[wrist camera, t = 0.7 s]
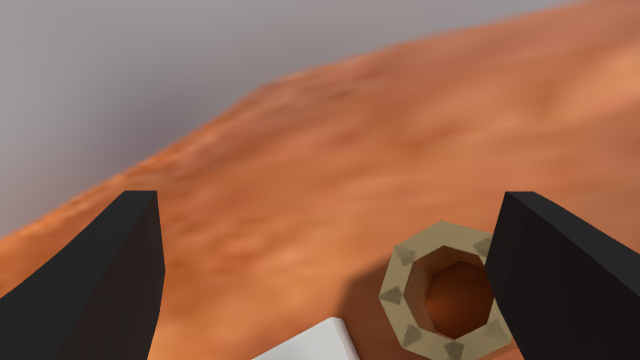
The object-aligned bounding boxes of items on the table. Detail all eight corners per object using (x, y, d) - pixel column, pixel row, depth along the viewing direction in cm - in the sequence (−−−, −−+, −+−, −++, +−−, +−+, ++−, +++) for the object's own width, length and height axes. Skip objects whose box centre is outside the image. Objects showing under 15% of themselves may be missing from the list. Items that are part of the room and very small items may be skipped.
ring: (553, 330, 24) (550, 324, 20) (440, 384, 25) (419, 387, 22) (487, 222, 26) (475, 200, 23) (388, 276, 28) (362, 263, 24)
